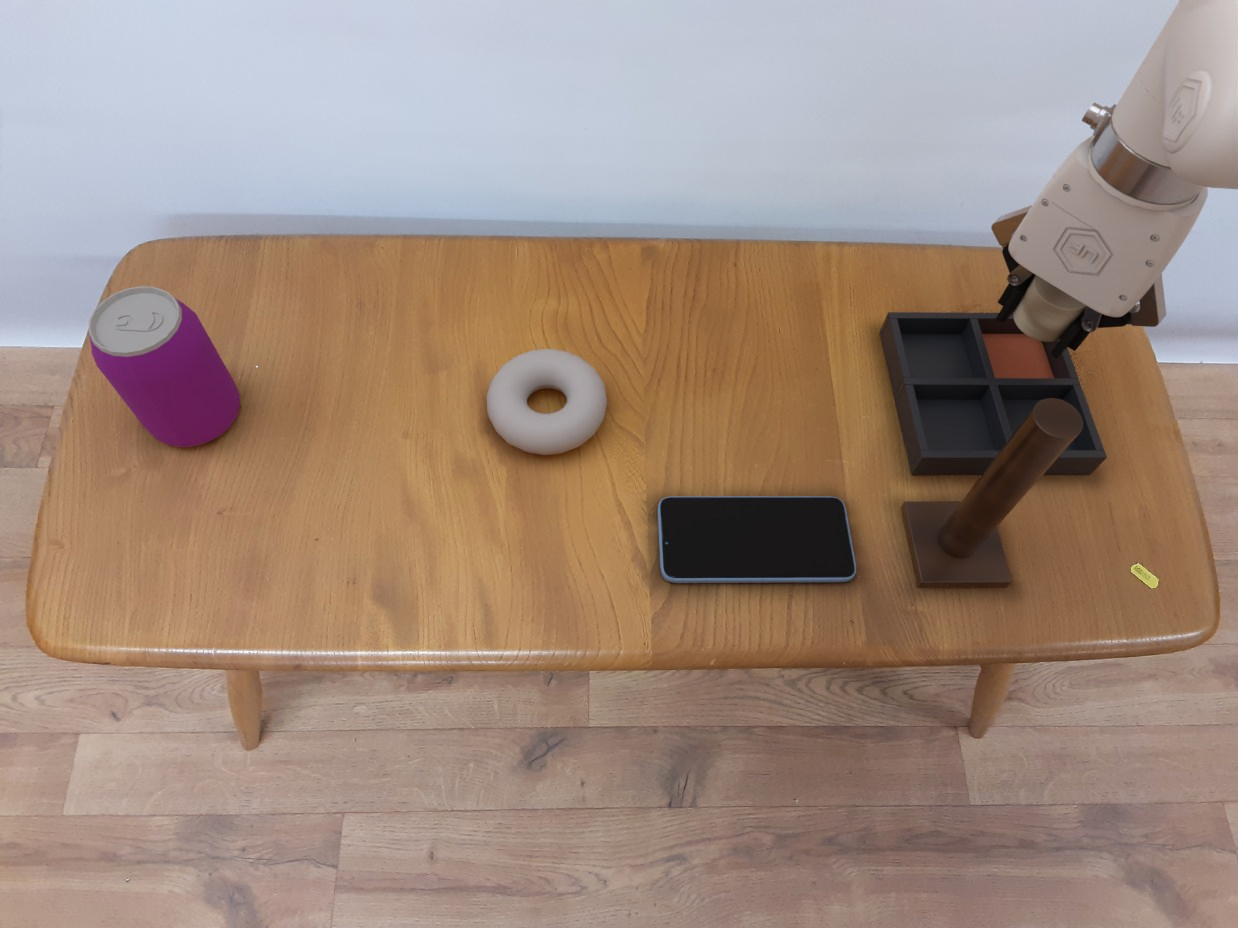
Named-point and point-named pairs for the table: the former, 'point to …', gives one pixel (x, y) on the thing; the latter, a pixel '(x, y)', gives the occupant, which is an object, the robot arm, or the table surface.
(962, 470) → the grid
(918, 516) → the stand
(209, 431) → the beverage can
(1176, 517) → the table surface
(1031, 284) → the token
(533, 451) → the donut
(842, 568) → the smartphone
